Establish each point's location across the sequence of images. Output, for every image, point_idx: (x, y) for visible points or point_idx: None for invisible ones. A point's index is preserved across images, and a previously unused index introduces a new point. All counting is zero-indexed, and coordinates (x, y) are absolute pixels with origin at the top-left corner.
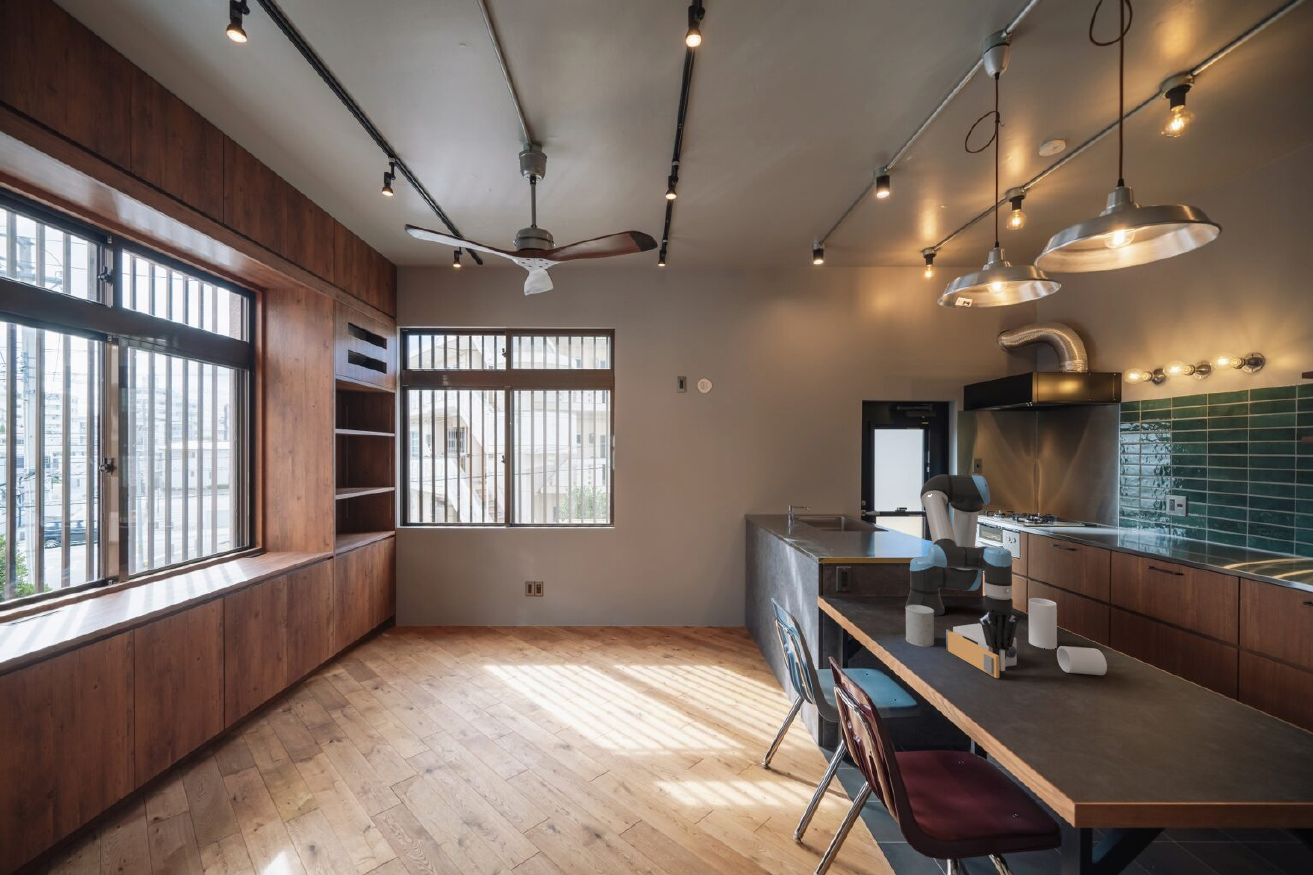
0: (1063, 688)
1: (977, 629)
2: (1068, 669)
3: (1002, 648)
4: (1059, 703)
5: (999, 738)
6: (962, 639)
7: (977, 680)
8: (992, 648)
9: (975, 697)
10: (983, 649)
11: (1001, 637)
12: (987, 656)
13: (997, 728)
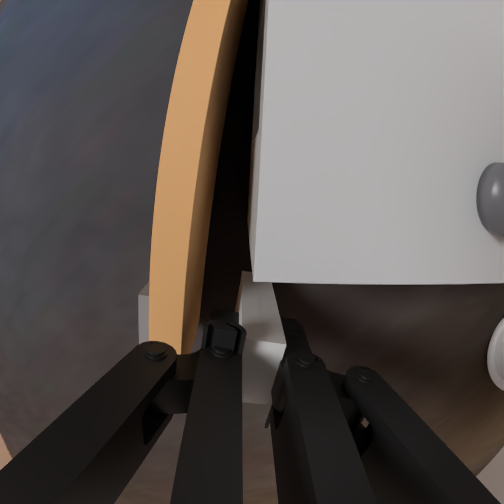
0: (365, 419)
1: (452, 5)
2: (492, 356)
3: (272, 393)
4: (242, 465)
5: (7, 443)
6: (187, 22)
7: (87, 291)
8: (199, 350)
9: (17, 362)
10: (157, 279)
11: (288, 466)
12: (140, 326)
13: (14, 435)
